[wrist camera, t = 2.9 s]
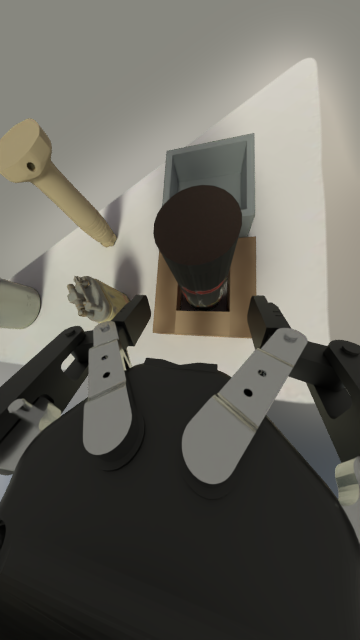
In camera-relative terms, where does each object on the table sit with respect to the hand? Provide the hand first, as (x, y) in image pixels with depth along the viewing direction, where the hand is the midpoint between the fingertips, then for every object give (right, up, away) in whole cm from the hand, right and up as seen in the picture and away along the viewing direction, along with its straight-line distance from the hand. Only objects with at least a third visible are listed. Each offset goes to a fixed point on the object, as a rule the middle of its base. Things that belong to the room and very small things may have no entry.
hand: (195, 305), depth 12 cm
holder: (+3, +3, +13) cm, 13 cm away
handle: (-15, +15, +18) cm, 28 cm away
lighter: (-11, +1, +15) cm, 19 cm away
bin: (+4, +19, +15) cm, 24 cm away
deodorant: (+3, +3, +13) cm, 14 cm away
